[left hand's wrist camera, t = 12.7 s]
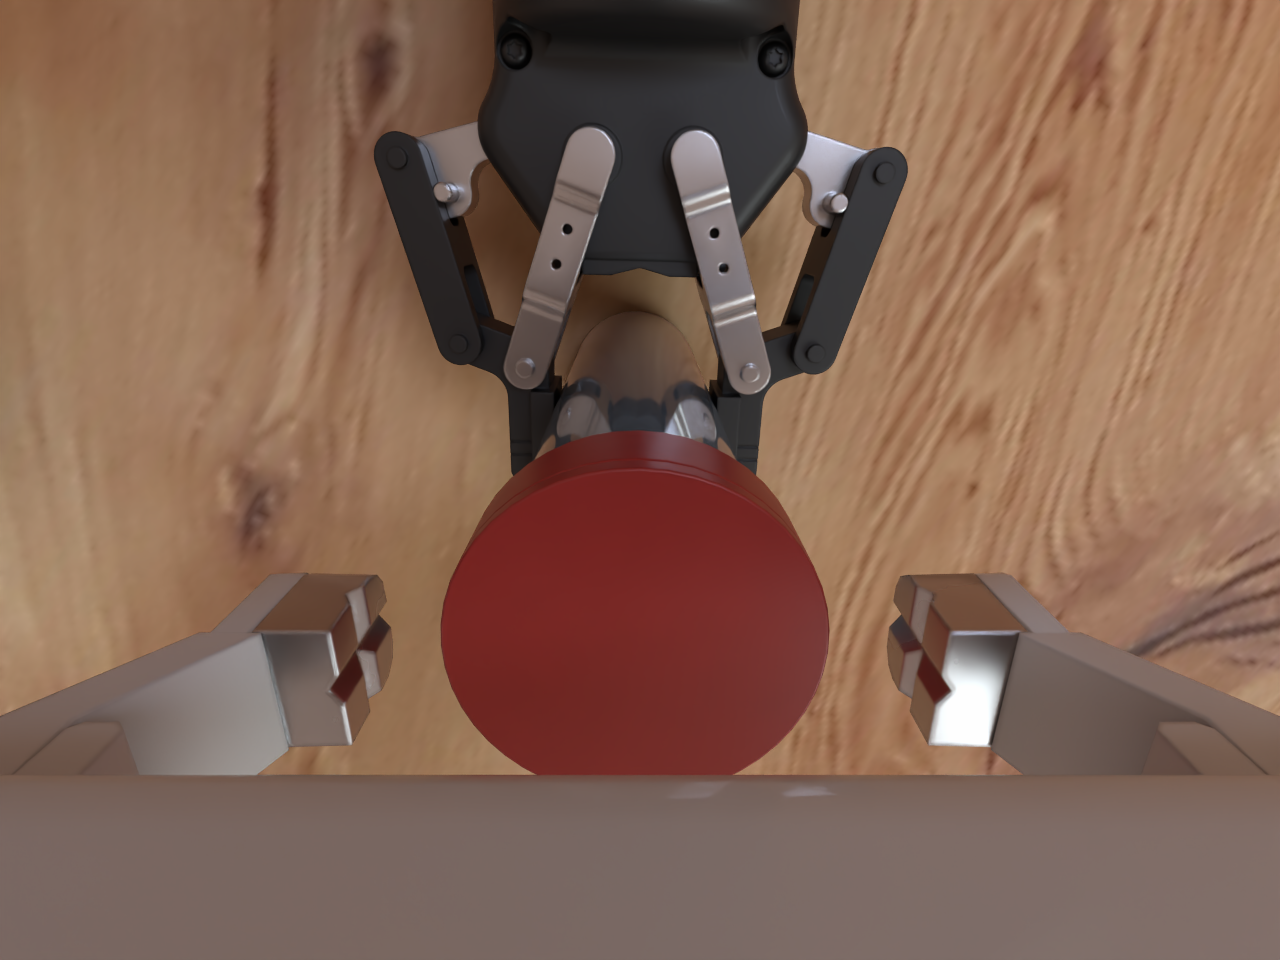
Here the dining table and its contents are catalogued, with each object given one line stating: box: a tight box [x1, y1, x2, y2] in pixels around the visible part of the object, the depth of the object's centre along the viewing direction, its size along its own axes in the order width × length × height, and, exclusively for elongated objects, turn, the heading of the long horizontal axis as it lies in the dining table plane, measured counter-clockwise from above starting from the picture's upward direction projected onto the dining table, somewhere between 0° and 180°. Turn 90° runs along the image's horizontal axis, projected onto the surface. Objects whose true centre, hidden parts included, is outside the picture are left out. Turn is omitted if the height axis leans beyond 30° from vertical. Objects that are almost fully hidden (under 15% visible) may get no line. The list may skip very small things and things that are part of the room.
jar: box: [533, 311, 738, 461], centre depth 18 cm, size 5×5×18 cm
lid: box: [441, 430, 829, 775], centre depth 10 cm, size 6×6×2 cm
